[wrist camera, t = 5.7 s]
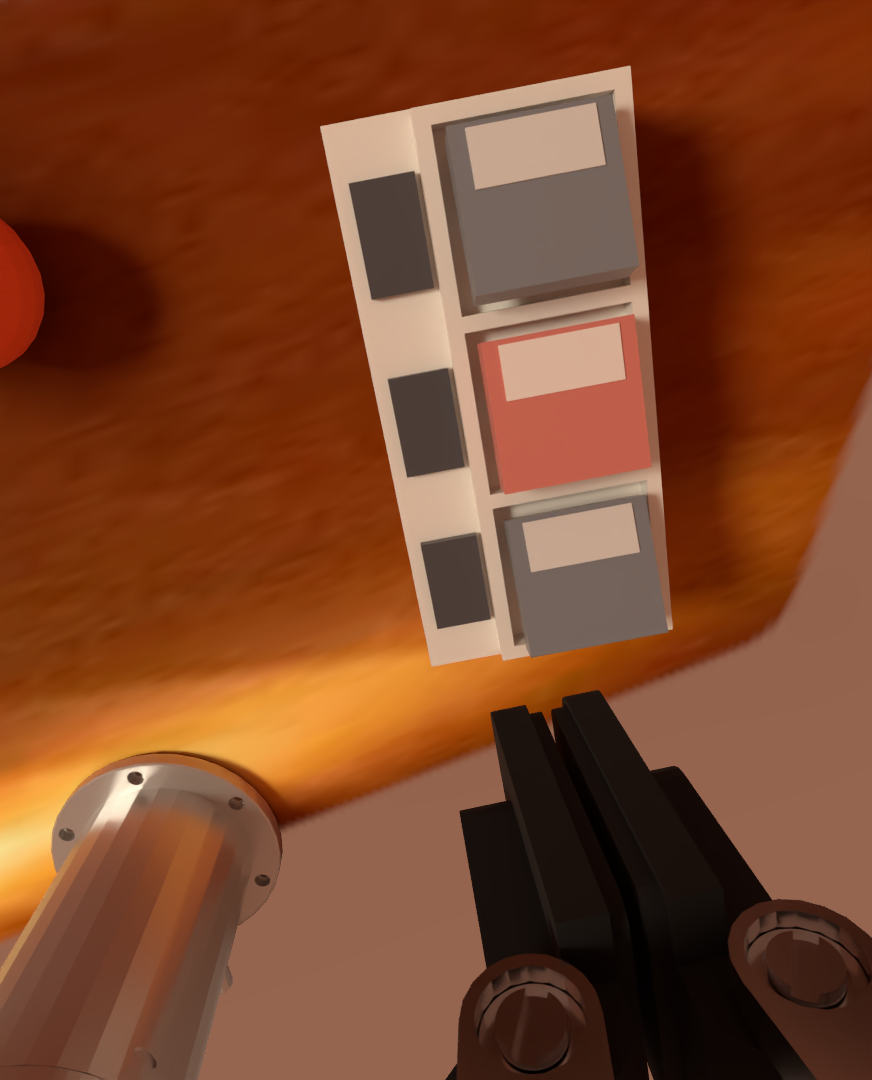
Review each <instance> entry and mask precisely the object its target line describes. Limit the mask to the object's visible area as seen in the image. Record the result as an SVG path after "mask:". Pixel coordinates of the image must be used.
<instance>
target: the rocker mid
mask: <svg viewBox="0 0 872 1080" xmlns="http://www.w3.org/2000/svg"><path fill="white" fill-rule="evenodd" d="M477 348H478V354H479V360H480V366H481V372H482V378H483V384H484V390H485V396H486V402H487V408H488V415H489V421H490V427H491V433H492V439H493V445H494V451H495V457H496V463H497V469H498V475H499V481H500V488H501V490H502V491H503V492H504V494H505V495H506V494H512V493H517V492H522V491H527V490H533V489H538V488H543V487H549V486H554V485H559V484H565V483H570V482H575V481H581V480H586V479H591V478H597V477H602V476H607V475H613V474H618V473H623V472H629V471H634V470H639V469H645V468H650V467H652V466H651V457H650V449H649V440H648V431H647V422H646V413H645V404H644V395H643V386H642V377H641V368H640V359H639V350H638V341H637V332H636V323H635V314H631V315H626V316H621V317H615V318H610V319H605V320H600V321H594V322H589V323H584V324H579V325H573V326H568V327H563V328H558V329H552V330H547V331H542V332H537V333H531V334H526V335H521V336H516V337H510V338H505V339H500V340H495V341H489V342H484V343H480V344H478V345H477Z"/></svg>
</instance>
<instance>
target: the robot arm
mask: <svg viewBox="0 0 872 1080" xmlns="http://www.w3.org/2000/svg"><path fill="white" fill-rule="evenodd" d="M562 706H563V707H561V708H556V709H552V711H551V715H552V722H553V729H554V736H555V741H554V739H553V737H552V734H551V732H550V730H549V727H548V725H547V723H546V721H545V718H544V716H543V714H542V712H537V713H532V714H529V712H528V709H527V707H526V705H523V706H518V707H513V708H508V709H503V710H499V711H494V712H491V721H492V727H493V732H494V738H495V743H496V749H497V754H498V759H499V765H500V771H501V776H502V781H503V787H504V792H505V798H506V801H504V802H499V803H495V804H490V805H485V806H480V807H475V808H471V809H466V810H461V811H460V817H461V823H462V829H463V835H464V840H465V846H466V852H467V857H468V863H469V869H470V874H471V880H472V887H473V892H474V898H475V904H476V909H477V915H478V921H479V927H480V933H481V939H482V944H483V950H484V956H485V962H486V967H487V969H486V970H485V971H484V972H483V973H482V974H480V975H479V977H477V978H476V979H475V980H474V981H473V983H472V984H471V986H470V988H469V990H468V992H467V993H466V995H465V997H464V999H463V1001H462V1006H461V1012H460V1017H459V1025H458V1051H457V1052H458V1053H457V1064H456V1066H455V1067H454V1068H453V1070H452V1071H451V1073H450V1074H449V1075H448V1077H447V1078H446V1080H649V1074H648V1066H649V1068H650V1071H651V1074H652V1076H653V1079H654V1080H872V938H871V937H870V936H869V935H868V934H867V933H866V932H865V931H863V930H862V929H861V928H860V927H858V926H857V925H856V924H855V923H853V922H852V921H851V920H849V919H848V918H847V917H845V916H843V915H841V914H839V913H837V912H835V911H833V910H830V909H828V908H826V907H824V906H821V905H817V904H813V903H809V902H806V901H802V900H786V899H777V900H772V899H771V898H770V896H769V895H768V893H767V892H766V891H765V889H764V888H763V886H762V885H761V883H760V882H759V880H758V879H757V878H756V876H755V875H754V873H753V872H752V870H751V869H750V868H749V866H748V865H747V863H746V862H745V860H744V859H743V858H742V856H741V855H740V853H739V852H738V850H737V849H736V848H735V846H734V845H733V843H732V842H731V840H730V839H729V838H728V836H727V835H726V833H725V832H724V830H723V829H722V827H721V826H720V825H719V824H718V822H717V820H716V819H715V817H714V816H713V815H712V813H711V812H710V810H709V809H708V807H707V806H706V805H705V803H704V802H703V800H702V799H701V797H700V796H699V795H698V793H697V792H696V790H695V789H694V787H693V786H692V784H691V783H690V782H689V780H688V779H687V777H686V776H685V775H684V773H683V772H682V771H681V770H680V769H679V768H678V767H676V766H671V767H666V768H662V769H657V770H652V771H650V770H649V769H648V767H647V765H646V764H645V762H644V761H643V759H642V758H641V756H640V754H639V753H638V751H637V749H636V748H635V746H634V745H633V743H632V742H631V740H630V738H629V737H628V735H627V733H626V732H625V730H624V729H623V727H622V725H621V724H620V722H619V721H618V719H617V717H616V716H615V714H614V713H613V711H612V709H611V708H610V706H609V705H608V703H607V701H606V700H605V698H604V697H603V695H602V694H601V692H600V691H599V690H596V691H591V692H586V693H581V694H576V695H571V696H566V697H563V699H562ZM555 742H556V743H555ZM51 853H52V857H53V862H54V867H55V870H56V872H57V875H56V876H55V878H54V880H53V881H52V883H51V885H50V886H49V888H48V890H47V891H46V893H45V895H44V897H43V898H42V900H41V902H40V903H39V905H38V907H37V908H36V910H35V912H34V913H33V915H32V917H31V918H30V920H29V922H28V923H27V925H26V927H25V928H24V930H23V932H22V934H21V935H20V937H19V939H18V940H17V942H16V944H15V945H14V947H13V949H12V950H11V952H10V954H9V955H8V957H7V959H6V960H5V962H4V964H3V965H2V967H1V969H0V1080H198V1076H199V1072H200V1069H201V1065H202V1061H203V1056H204V1053H205V1049H206V1045H207V1041H208V1038H209V1034H210V1030H211V1026H212V1022H213V1018H214V1014H215V1010H216V1007H217V1003H218V998H219V996H220V995H222V994H224V993H225V992H227V991H228V990H229V989H230V987H231V985H232V983H233V981H232V975H231V973H230V970H229V967H228V965H227V964H228V960H229V956H230V952H231V948H232V944H233V940H234V937H235V933H236V929H237V926H238V925H240V924H241V923H243V922H244V921H245V920H247V919H248V918H250V917H251V916H252V915H254V914H255V913H256V911H258V909H259V908H260V907H261V906H262V905H263V904H264V903H265V902H266V901H267V899H268V897H269V895H270V894H271V892H272V890H273V888H274V886H275V884H276V880H277V877H278V873H279V869H280V863H281V858H282V838H281V833H280V829H279V826H278V823H277V820H276V817H275V816H274V814H273V812H272V811H271V809H270V807H269V805H268V804H267V802H266V801H265V800H264V799H263V798H262V796H261V795H260V794H259V793H258V792H257V791H256V790H255V789H254V788H253V787H252V786H251V785H250V784H248V783H247V782H246V781H244V780H243V779H242V778H241V777H239V776H238V775H236V774H234V773H232V772H231V771H229V770H227V769H225V768H223V767H221V766H219V765H217V764H214V763H211V762H208V761H205V760H202V759H199V758H195V757H189V756H184V755H178V754H147V755H140V756H133V757H129V758H126V759H123V760H120V761H117V762H114V763H111V764H109V765H107V766H105V767H103V768H101V769H100V770H98V771H96V772H94V773H93V774H91V775H90V776H89V777H88V778H87V779H85V780H84V781H83V782H82V783H81V784H79V785H78V787H77V788H76V789H75V791H74V792H73V793H72V794H71V796H70V797H69V798H68V800H67V801H66V803H65V805H64V806H63V808H62V810H61V811H60V813H59V815H58V816H57V819H56V822H55V825H54V828H53V831H52V845H51ZM647 1063H648V1066H647Z"/></svg>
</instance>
